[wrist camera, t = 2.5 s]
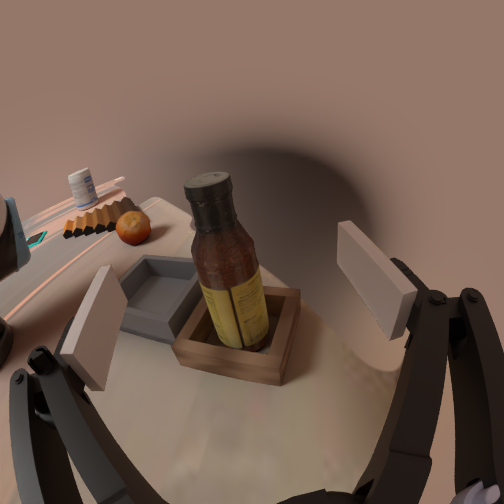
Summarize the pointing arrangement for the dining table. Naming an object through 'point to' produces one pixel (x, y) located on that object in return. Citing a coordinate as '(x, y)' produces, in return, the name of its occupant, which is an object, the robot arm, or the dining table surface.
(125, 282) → the grey square tray
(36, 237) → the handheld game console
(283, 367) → the walnut holder
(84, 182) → the supplement tub
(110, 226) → the brown ridged flat piece
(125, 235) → the fruit
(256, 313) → the sauce bottle
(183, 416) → the dining table surface
